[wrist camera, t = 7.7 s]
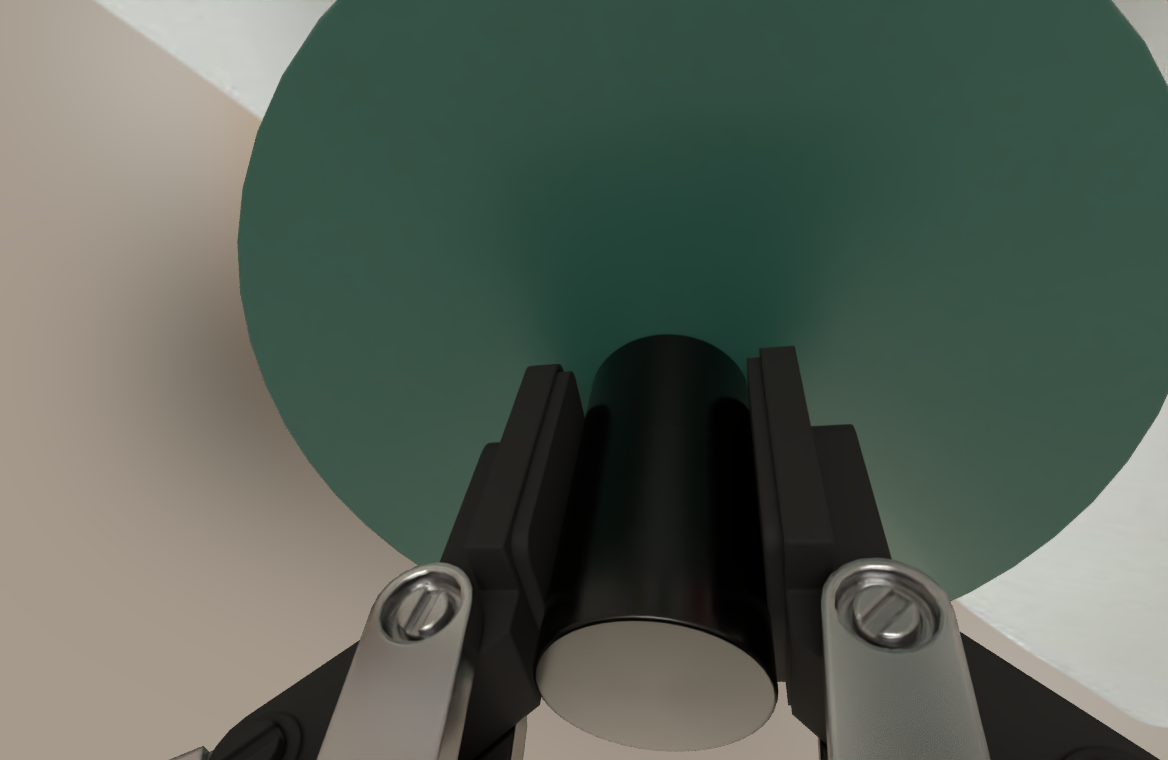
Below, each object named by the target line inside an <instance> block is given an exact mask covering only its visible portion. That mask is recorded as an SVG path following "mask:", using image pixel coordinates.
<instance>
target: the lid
mask: <svg viewBox="0 0 1168 760" xmlns="http://www.w3.org/2000/svg"><path fill="white" fill-rule="evenodd" d="M238 261H239V279H240V294H241V299H242V304H243V309H244V314H245V319H246V324H247V329H248V334H249V339H250V343H251V346H252V349H253V351H254V354H255V357H256V360H257V363H258V366H259V369H260V372H261V374H262V377H263V380H264V383H265V385H266V388H267V390H268V392H269V394H270V396H271V398H272V400H273V402H274V404H275V406H276V408H277V410H278V412H279V414H280V416H281V418H282V420H283V422H284V424H285V426H286V428H287V429H288V431H289V432H290V434H291V435H292V437H293V438H294V440H295V441H296V443H297V445H298V446H299V447H300V449H301V451H302V452H303V454H304V455H305V457H306V458H307V460H308V462H309V463H310V464H311V465H312V467H313V468H314V469H315V470H316V471H317V473H318V474H319V475H320V476H321V478H322V479H323V480H324V481H325V482H326V484H327V485H328V486H329V487H330V489H331V490H332V491H333V492H334V493H335V495H336V496H337V497H338V498H339V499H340V500H341V501H342V502H343V503H344V504H345V505H346V506H347V507H348V508H349V509H350V510H351V511H352V512H353V513H354V514H355V515H356V516H357V517H358V518H359V519H360V520H361V521H362V522H363V523H364V524H365V525H366V526H368V527H369V528H370V529H371V530H372V531H374V532H375V533H376V534H377V535H378V536H380V537H381V538H382V539H383V540H385V541H386V542H387V543H388V544H389V545H391V546H392V547H393V548H394V549H395V550H397V551H398V552H399V553H401V554H402V555H404V556H405V557H407V558H408V559H410V560H411V561H413V562H414V563H415V564H417V565H418V566H419V565H423V564H428V563H433V562H435V563H439V562H440V560H441V557H442V554H443V552H444V549H445V547H446V544H447V541H448V539H449V536H450V533H451V531H452V528H453V526H454V523H455V520H456V518H457V515H458V512H459V510H460V507H461V505H462V502H463V499H464V497H465V494H466V491H467V489H468V486H469V484H470V481H471V478H472V476H473V473H474V470H475V468H476V465H477V463H478V460H479V457H480V455H481V452H482V450H483V448H484V447H485V445H487V444H488V443H493V442H500V441H501V438H502V435H503V432H504V430H505V427H506V424H507V421H508V418H509V416H510V413H511V410H512V407H513V404H514V401H515V399H516V396H517V393H518V390H519V387H520V385H521V382H522V379H523V376H524V373H525V370H526V369H527V367H528V366H535V365H548V364H561V365H562V367H563V370H564V372H566V371H572V372H573V373H574V375H575V378H576V382H577V386H578V390H579V395H580V399H581V403H582V407H583V412H584V416H585V421H584V426H583V431H582V436H581V440H580V445H579V450H578V454H577V459H576V464H575V469H574V473H573V478H572V483H571V487H570V492H569V497H568V501H567V506H566V511H565V516H564V520H563V525H562V530H561V534H560V539H559V544H558V549H557V553H556V558H555V563H554V567H553V572H552V577H551V581H550V586H549V591H548V596H547V600H546V605H545V610H544V614H543V619H542V624H541V628H540V633H539V638H538V643H537V647H536V652H535V657H534V662H533V678H534V681H535V685H536V688H537V690H538V692H539V694H540V696H541V697H542V698H543V700H544V701H545V702H546V704H547V705H548V706H549V707H550V708H551V709H552V710H553V711H554V712H555V713H557V714H558V715H559V716H560V717H562V718H563V719H564V720H566V721H567V722H569V723H570V724H572V725H574V726H576V727H577V728H579V729H581V730H583V731H585V732H587V733H589V734H592V735H594V736H596V737H599V738H602V739H605V740H608V741H610V742H614V743H618V744H621V745H625V746H630V747H635V748H641V749H648V750H658V751H696V750H704V749H711V748H716V747H720V746H724V745H727V744H731V743H734V742H736V741H739V740H741V739H743V738H745V737H747V736H749V735H751V734H753V733H754V732H756V731H757V730H758V729H759V728H761V727H762V726H763V725H764V724H765V723H766V722H767V721H768V720H769V718H770V717H771V715H772V713H773V712H774V709H775V706H776V703H777V700H778V684H777V673H776V663H775V652H774V642H773V632H772V622H771V616H770V612H769V610H768V607H767V597H766V586H765V575H764V564H763V553H762V542H761V531H760V520H759V509H758V499H757V488H756V477H755V466H754V455H753V444H752V433H751V422H750V411H749V394H748V377H747V358H755V357H759V348H769V347H782V346H795V349H796V354H797V359H798V364H799V369H800V374H801V379H802V384H803V389H804V394H805V399H806V404H807V409H808V414H809V418H810V423H811V426H822V425H842V424H852V425H853V426H854V428H855V431H856V433H857V437H858V440H859V444H860V447H861V451H862V455H863V458H864V462H865V465H866V469H867V472H868V476H869V479H870V483H871V487H872V490H873V494H874V497H875V501H876V504H877V508H878V511H879V515H880V519H881V522H882V526H883V529H884V533H885V536H886V540H887V543H888V547H889V551H890V554H891V558H892V560H897V561H901V562H903V563H906V564H908V565H911V566H913V567H916V568H918V569H919V570H921V571H922V572H924V573H925V574H927V575H928V576H930V577H931V578H933V579H934V580H935V581H936V582H937V583H938V584H939V586H940V587H941V588H942V589H943V590H944V591H945V592H946V594H947V595H948V597H949V599H950V601H952V600H954V599H956V598H959V597H961V596H963V595H965V594H967V593H969V592H971V591H973V590H975V589H977V588H978V587H980V586H982V585H983V584H985V583H987V582H989V581H990V580H992V579H994V578H995V577H997V576H999V575H1001V574H1002V573H1004V572H1006V571H1007V570H1009V569H1011V568H1013V567H1014V566H1015V565H1017V564H1018V563H1020V562H1021V561H1022V560H1024V559H1025V558H1026V557H1028V556H1029V555H1031V554H1032V553H1033V552H1035V551H1036V550H1037V549H1039V548H1040V547H1042V546H1043V545H1044V544H1046V543H1047V542H1048V541H1050V540H1051V539H1052V538H1054V537H1055V536H1056V535H1057V534H1058V533H1059V532H1060V531H1062V530H1063V529H1064V528H1065V527H1066V526H1067V525H1068V524H1069V523H1070V522H1071V521H1073V520H1074V519H1075V518H1076V517H1077V516H1078V515H1079V514H1080V513H1081V512H1082V511H1083V510H1085V509H1086V508H1087V507H1088V506H1089V505H1090V504H1091V503H1092V502H1093V501H1094V500H1095V499H1096V498H1097V496H1098V495H1099V494H1100V493H1101V492H1102V491H1103V490H1104V488H1105V487H1106V486H1107V485H1108V484H1109V483H1110V481H1111V480H1112V479H1113V478H1114V477H1115V476H1116V474H1117V473H1118V472H1119V471H1120V470H1121V469H1122V467H1123V466H1124V465H1125V464H1126V463H1127V462H1128V460H1129V459H1130V457H1131V456H1132V454H1133V452H1134V451H1135V449H1136V448H1137V446H1138V445H1139V443H1140V442H1141V440H1142V439H1143V437H1144V436H1145V434H1146V433H1147V431H1148V429H1149V428H1150V426H1151V425H1152V423H1153V422H1154V420H1155V419H1156V417H1157V416H1158V414H1159V412H1160V410H1161V407H1162V405H1163V403H1164V401H1165V399H1166V396H1167V394H1168V85H1167V83H1166V82H1165V80H1164V78H1163V76H1162V74H1161V72H1160V70H1159V68H1158V66H1157V64H1156V62H1155V60H1154V58H1153V57H1152V55H1151V53H1150V51H1149V49H1148V47H1147V45H1146V43H1145V41H1144V40H1143V39H1142V37H1141V36H1140V35H1139V34H1138V32H1137V31H1136V30H1135V29H1134V28H1133V26H1132V25H1131V24H1130V23H1129V21H1128V20H1127V19H1126V18H1125V16H1124V15H1123V14H1122V13H1121V11H1120V10H1119V9H1118V8H1117V6H1116V5H1115V4H1114V3H1113V1H1112V0H336V2H335V3H334V4H333V5H332V6H331V7H330V8H329V9H328V10H327V11H326V12H325V13H324V15H323V16H322V17H321V18H320V19H319V20H318V22H317V23H316V25H315V26H314V28H313V29H312V31H311V32H310V34H309V35H308V37H307V38H306V40H305V41H304V43H303V44H302V46H301V48H300V49H299V51H298V52H297V54H296V55H295V57H294V58H293V60H292V61H291V63H290V64H289V66H288V67H287V69H286V70H285V72H284V73H283V75H282V77H281V79H280V82H279V84H278V86H277V88H276V91H275V93H274V95H273V98H272V100H271V102H270V104H269V107H268V109H267V111H266V113H265V116H264V118H263V120H262V122H261V125H260V127H259V129H258V132H257V136H256V139H255V143H254V147H253V151H252V155H251V158H250V162H249V166H248V170H247V174H246V178H245V182H244V185H243V191H242V202H241V212H240V222H239V232H238Z"/></svg>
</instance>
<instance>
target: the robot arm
mask: <svg viewBox="0 0 1168 760" xmlns="http://www.w3.org/2000/svg"><path fill="white" fill-rule="evenodd" d="M747 377H748V394H749V411H750V422H751V433H752V444H753V455H754V466H755V477H756V488H757V499H758V509H759V520H760V531H761V542H762V553H763V564H764V575H765V586H766V597H767V607H768V610H769V612H770V616H771V622H772V632H773V642H774V652H775V663H776V673H777V682H786V689H787V698H788V705H791V708H792V714H793V715H794V716H795V717H796V718H797V719H798V720H799V721H801V722H802V723H803V724H804V725H805V726H806V727H807V728H808V729H810V730H811V731H812V732H813V733H814V734H815V735H816V736H817V737H818V751H819V760H1159V759H1158V758H1156V757H1155V756H1153V755H1152V754H1150V753H1149V752H1147V751H1145V750H1144V749H1142V748H1141V747H1139V746H1138V745H1136V744H1134V743H1133V742H1131V741H1130V740H1128V739H1127V738H1125V737H1123V736H1122V735H1120V734H1119V733H1117V732H1116V731H1114V730H1113V729H1111V728H1109V727H1108V726H1106V725H1105V724H1103V723H1102V722H1100V721H1099V720H1097V719H1096V718H1094V717H1092V716H1091V715H1089V714H1088V713H1086V712H1085V711H1083V710H1081V709H1080V708H1078V707H1077V706H1075V705H1074V704H1072V703H1070V702H1069V701H1067V700H1066V699H1064V698H1063V697H1061V696H1059V695H1058V694H1056V693H1055V692H1053V691H1052V690H1050V689H1049V688H1047V687H1046V686H1044V685H1042V684H1041V683H1039V682H1038V681H1036V680H1034V679H1033V678H1032V677H1030V676H1028V675H1026V674H1025V673H1024V672H1022V671H1021V670H1019V669H1017V668H1016V667H1014V666H1013V665H1011V664H1010V663H1008V662H1007V661H1005V660H1003V659H1002V658H1000V657H999V656H997V655H996V654H994V653H993V652H991V651H989V650H988V649H986V648H985V647H983V646H982V645H980V644H978V643H977V642H975V641H974V640H972V639H970V638H969V637H968V636H966V635H964V634H963V633H961V632H960V631H959V627H958V623H957V619H956V615H955V611H954V609H953V606H952V604H951V602H950V599H949V597H948V595H947V594H946V592H945V591H944V590H943V589H942V588H941V587H940V586H939V584H938V583H937V582H936V581H935V580H934V579H933V578H931V577H930V576H928V575H927V574H925V573H924V572H922V571H921V570H919V569H918V568H916V567H913V566H911V565H908V564H906V563H903V562H901V561H897V560H892V558H891V554H890V551H889V547H888V543H887V540H886V536H885V533H884V529H883V526H882V522H881V519H880V515H879V511H878V508H877V504H876V501H875V497H874V494H873V490H872V487H871V483H870V479H869V476H868V472H867V469H866V465H865V462H864V458H863V455H862V451H861V447H860V444H859V440H858V437H857V433H856V431H855V428H854V426H853V425H852V424H842V425H822V426H811V423H810V418H809V414H808V409H807V404H806V399H805V394H804V389H803V384H802V379H801V374H800V369H799V364H798V359H797V354H796V349H795V346H782V347H769V348H759V357H755V358H747ZM584 421H585V416H584V412H583V407H582V403H581V399H580V395H579V390H578V386H577V382H576V378H575V375H574V373H573V372H572V371H566V372H564V370H563V367H562V365H561V364H548V365H535V366H528V367H527V369H526V370H525V373H524V376H523V379H522V382H521V385H520V387H519V390H518V393H517V396H516V399H515V401H514V404H513V407H512V410H511V413H510V416H509V418H508V421H507V424H506V427H505V430H504V432H503V435H502V438H501V441H500V442H493V443H488V444H487V445H485V447H484V448H483V450H482V452H481V455H480V457H479V460H478V463H477V465H476V468H475V470H474V473H473V476H472V478H471V481H470V484H469V486H468V489H467V491H466V494H465V497H464V499H463V502H462V505H461V507H460V510H459V512H458V515H457V518H456V520H455V523H454V526H453V528H452V531H451V533H450V536H449V539H448V541H447V544H446V547H445V549H444V552H443V554H442V557H441V560H440V562H439V563H435V562H433V563H428V564H423V565H419V566H416V567H414V568H412V569H410V570H407V571H405V572H404V573H402V574H400V575H399V576H398V577H396V578H395V579H393V580H392V581H391V582H389V584H388V585H387V586H386V587H385V588H384V589H383V590H382V591H381V593H380V594H379V595H378V597H377V599H376V601H375V603H374V604H373V606H372V608H371V611H370V614H369V616H368V619H367V622H366V625H365V628H364V630H363V633H362V636H361V639H360V640H359V641H358V642H356V643H355V644H353V645H352V646H350V647H349V648H347V649H346V650H344V651H343V652H341V653H340V654H338V655H337V656H335V657H334V658H332V659H331V660H330V661H328V662H327V663H325V664H324V665H322V666H321V667H319V668H318V669H316V670H315V671H313V672H312V673H310V674H309V675H307V676H306V677H304V678H303V679H301V680H300V681H298V682H297V683H296V684H294V685H293V686H291V687H290V688H288V689H287V690H285V691H284V692H282V693H281V694H279V695H278V696H276V697H275V698H273V699H272V700H270V701H269V702H267V703H266V704H264V705H263V706H261V707H260V708H258V709H257V710H255V711H254V712H253V713H251V714H250V715H248V716H247V717H245V718H244V719H243V720H242V721H240V722H239V723H238V724H237V725H236V726H234V727H233V728H232V729H231V730H229V732H228V733H227V734H226V735H225V736H224V738H223V739H222V740H221V741H220V743H219V744H218V745H217V746H216V747H215V749H214V750H213V751H211V752H209V751H208V750H207V749H206V748H205V747H204V746H202V747H199V748H197V749H194V750H192V751H190V752H187V753H185V754H182V755H180V756H178V757H175V758H173V759H170V760H523V755H524V747H525V739H526V731H527V715H528V714H529V713H530V712H532V711H533V710H534V709H535V708H536V707H538V706H539V705H540V701H541V696H540V694H539V692H538V690H537V688H536V685H535V681H534V678H533V662H534V657H535V652H536V647H537V643H538V638H539V633H540V628H541V624H542V619H543V614H544V610H545V605H546V600H547V596H548V591H549V586H550V581H551V577H552V572H553V567H554V563H555V558H556V553H557V549H558V544H559V539H560V534H561V530H562V525H563V520H564V516H565V511H566V506H567V501H568V497H569V492H570V487H571V483H572V478H573V473H574V469H575V464H576V459H577V454H578V450H579V445H580V440H581V436H582V431H583V426H584Z"/></svg>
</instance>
